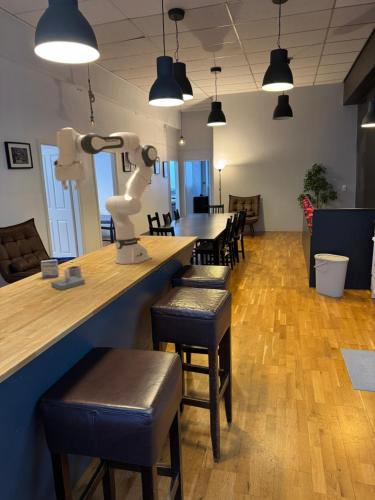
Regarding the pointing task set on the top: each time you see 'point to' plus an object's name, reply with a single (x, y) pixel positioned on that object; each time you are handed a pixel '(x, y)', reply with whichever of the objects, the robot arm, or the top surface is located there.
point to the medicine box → (49, 268)
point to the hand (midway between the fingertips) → (71, 189)
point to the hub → (75, 271)
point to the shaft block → (67, 281)
